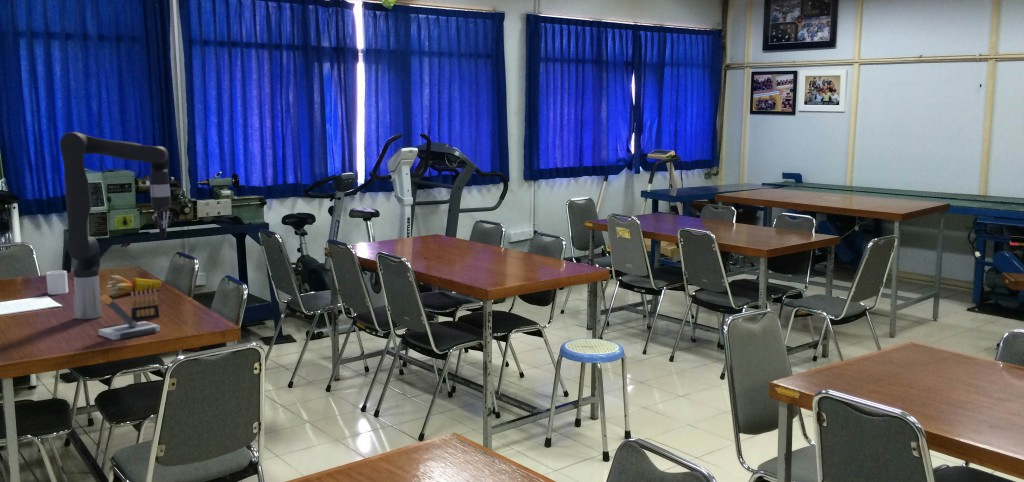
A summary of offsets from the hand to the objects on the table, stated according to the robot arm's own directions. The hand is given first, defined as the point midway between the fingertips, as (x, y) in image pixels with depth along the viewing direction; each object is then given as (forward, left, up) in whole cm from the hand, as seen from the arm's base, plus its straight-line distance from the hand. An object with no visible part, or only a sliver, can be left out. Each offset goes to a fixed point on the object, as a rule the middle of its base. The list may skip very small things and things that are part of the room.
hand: (163, 237), depth 367 cm
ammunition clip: (-4, -10, -32) cm, 34 cm away
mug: (-77, +32, -32) cm, 89 cm away
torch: (-39, +35, -32) cm, 62 cm away
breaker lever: (+5, -31, -29) cm, 43 cm away
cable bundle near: (+11, -37, -32) cm, 50 cm away
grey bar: (-2, -29, -32) cm, 43 cm away
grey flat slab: (+5, -33, -32) cm, 46 cm away
